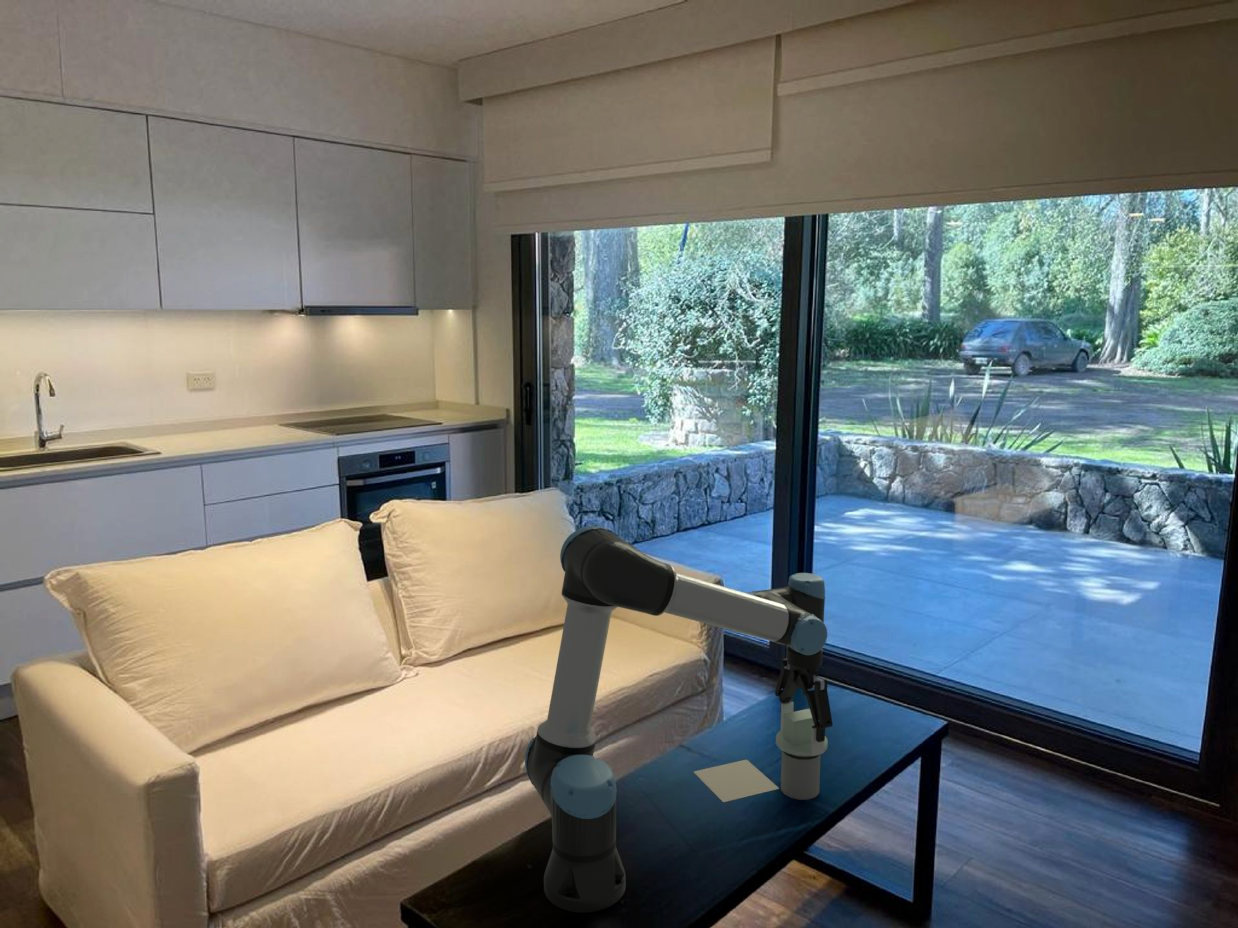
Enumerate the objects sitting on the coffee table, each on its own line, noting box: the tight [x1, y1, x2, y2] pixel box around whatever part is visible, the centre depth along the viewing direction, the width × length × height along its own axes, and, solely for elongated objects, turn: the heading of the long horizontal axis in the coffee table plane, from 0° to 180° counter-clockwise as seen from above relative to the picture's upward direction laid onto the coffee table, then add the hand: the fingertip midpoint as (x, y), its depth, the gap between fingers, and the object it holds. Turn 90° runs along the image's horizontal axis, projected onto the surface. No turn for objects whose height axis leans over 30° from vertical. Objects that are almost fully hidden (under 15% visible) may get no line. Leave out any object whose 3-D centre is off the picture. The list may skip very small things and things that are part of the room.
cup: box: [780, 750, 822, 801], centre depth 203 cm, size 8×8×10 cm
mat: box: [693, 759, 780, 803], centre depth 208 cm, size 14×14×1 cm
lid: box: [775, 708, 829, 757], centre depth 201 cm, size 11×11×7 cm
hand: (801, 741), depth 202 cm, fingers closed on lid, 11 cm apart
